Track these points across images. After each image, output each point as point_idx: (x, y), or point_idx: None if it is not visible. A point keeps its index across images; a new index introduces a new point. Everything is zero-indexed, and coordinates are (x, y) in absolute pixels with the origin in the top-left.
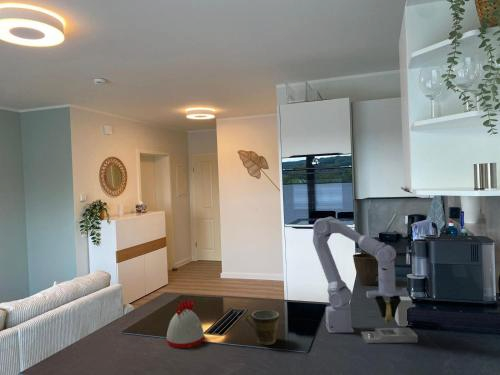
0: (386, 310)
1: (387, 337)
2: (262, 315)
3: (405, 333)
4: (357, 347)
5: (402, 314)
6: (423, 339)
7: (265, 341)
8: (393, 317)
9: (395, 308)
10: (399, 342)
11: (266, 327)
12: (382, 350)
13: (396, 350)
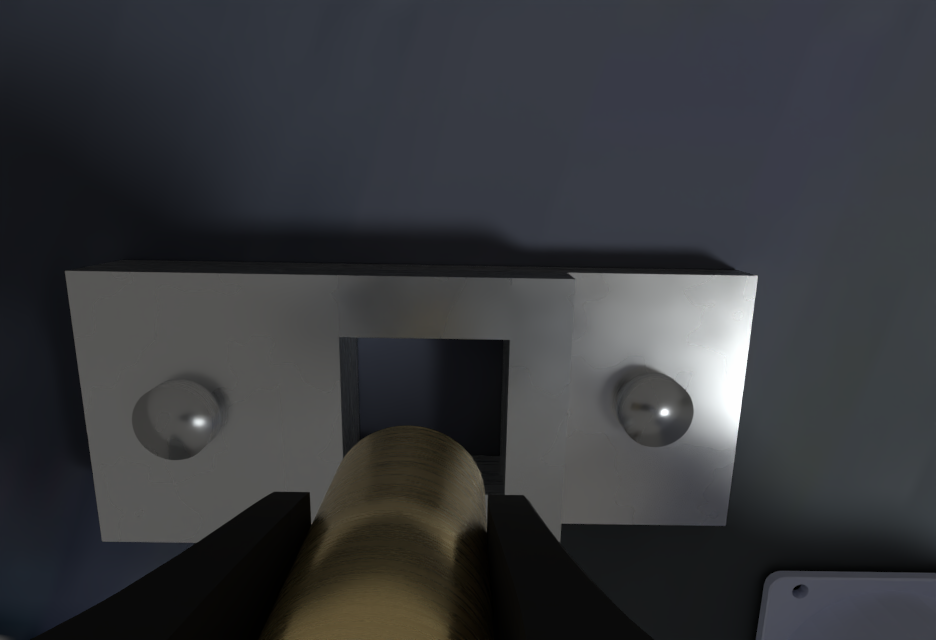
0: (443, 592)
1: (486, 274)
2: None
3: (209, 358)
4: (889, 160)
5: None
6: (31, 344)
7: None
8: (297, 493)
9: (139, 607)
10: (340, 264)
11: None
12: (623, 51)
13: (452, 41)
